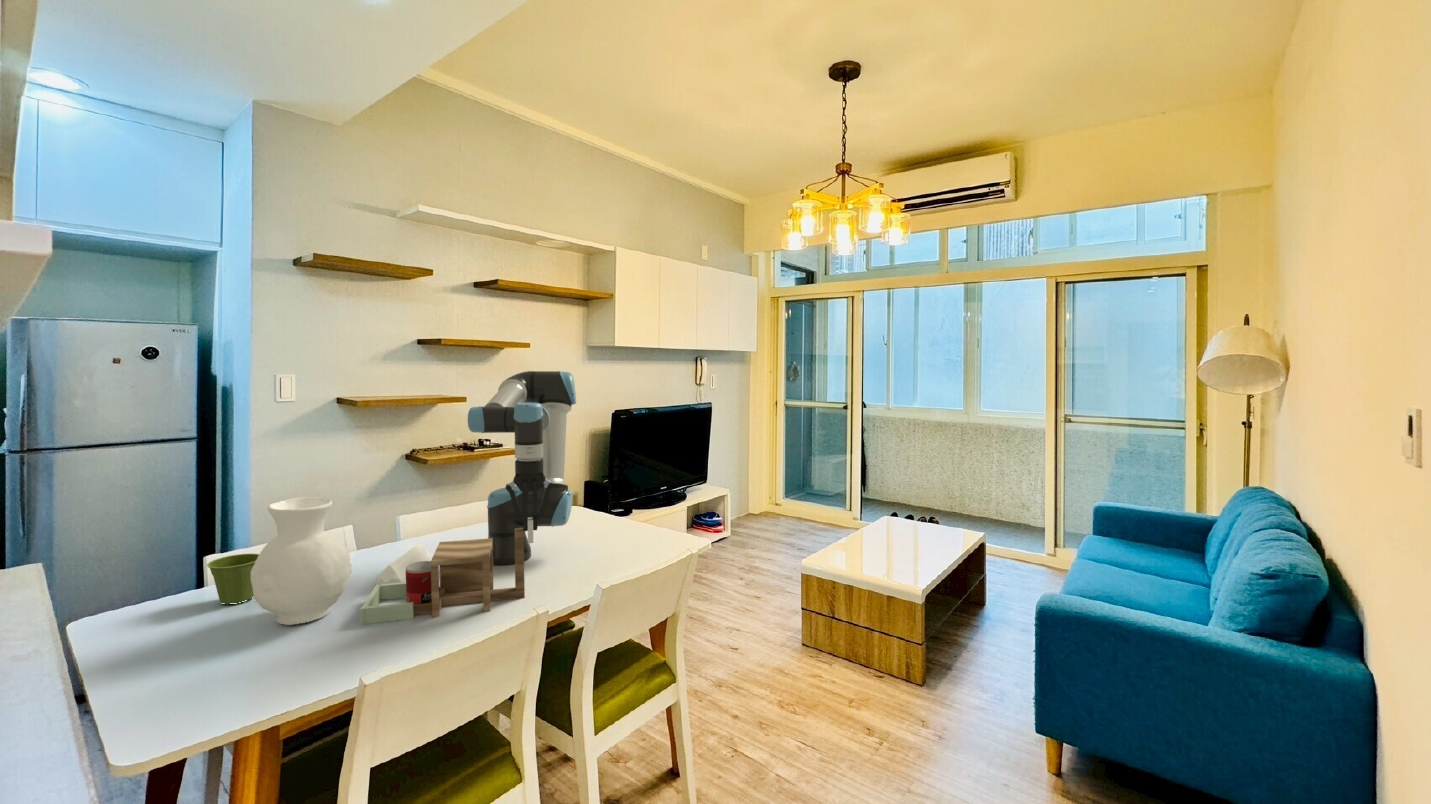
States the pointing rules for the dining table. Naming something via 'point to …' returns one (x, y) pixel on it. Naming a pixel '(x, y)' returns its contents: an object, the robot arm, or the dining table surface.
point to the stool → (462, 569)
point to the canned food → (419, 583)
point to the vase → (300, 563)
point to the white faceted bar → (403, 565)
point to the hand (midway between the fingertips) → (530, 541)
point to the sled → (478, 595)
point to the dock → (386, 612)
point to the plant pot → (233, 577)
